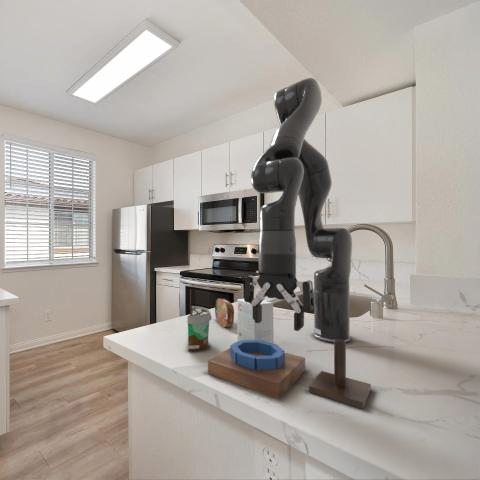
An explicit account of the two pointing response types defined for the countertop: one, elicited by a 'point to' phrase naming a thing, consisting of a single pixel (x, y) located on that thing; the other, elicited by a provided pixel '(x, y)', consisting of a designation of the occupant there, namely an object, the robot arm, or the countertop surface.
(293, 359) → the platform
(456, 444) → the countertop surface
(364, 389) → the ring stand
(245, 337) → the small box
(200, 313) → the food container
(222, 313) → the mottled orange brown slab
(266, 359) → the ring
